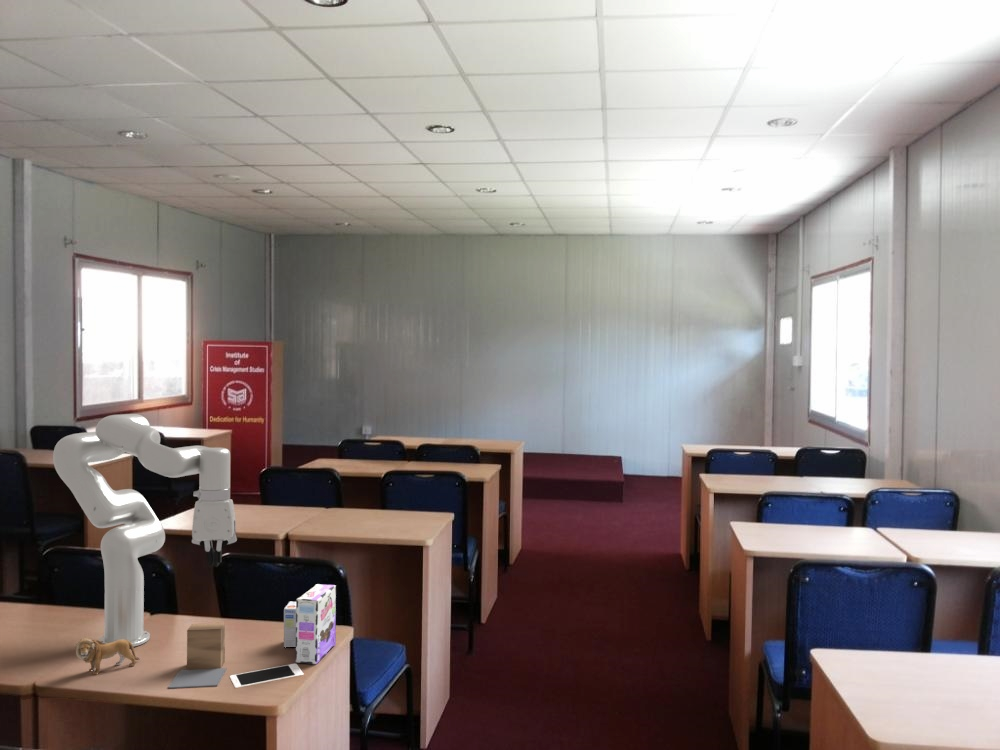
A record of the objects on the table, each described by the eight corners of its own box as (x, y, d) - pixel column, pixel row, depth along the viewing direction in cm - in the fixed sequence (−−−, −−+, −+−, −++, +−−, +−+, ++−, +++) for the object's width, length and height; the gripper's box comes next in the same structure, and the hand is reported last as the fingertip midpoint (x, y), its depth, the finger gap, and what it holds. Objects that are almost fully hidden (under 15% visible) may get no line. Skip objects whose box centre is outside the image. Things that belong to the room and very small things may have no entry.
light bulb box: (328, 639, 205) (328, 600, 205) (323, 648, 198) (323, 608, 198) (289, 639, 204) (289, 600, 204) (282, 648, 198) (283, 608, 198)
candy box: (316, 665, 187) (317, 600, 187) (294, 663, 188) (295, 598, 187) (336, 644, 201) (336, 584, 200) (315, 643, 201) (316, 582, 201)
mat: (179, 671, 182) (179, 670, 182) (226, 669, 184) (226, 667, 184) (167, 688, 172) (167, 687, 172) (217, 686, 174) (217, 684, 174)
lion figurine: (79, 681, 176) (79, 643, 176) (72, 675, 180) (72, 637, 180) (143, 664, 187) (143, 628, 187) (135, 658, 190) (135, 623, 190)
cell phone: (304, 676, 181) (304, 674, 181) (235, 690, 173) (235, 687, 173) (296, 665, 188) (296, 663, 188) (229, 678, 180) (229, 675, 180)
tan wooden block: (191, 663, 187) (192, 623, 187) (224, 661, 189) (225, 622, 189) (186, 670, 183) (187, 630, 183) (220, 668, 184) (221, 628, 184)
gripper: (180, 498, 189) (179, 570, 189) (242, 497, 191) (241, 568, 191) (188, 493, 196) (187, 563, 196) (247, 492, 198) (247, 561, 198)
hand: (214, 565), depth 194 cm, fingers closed
